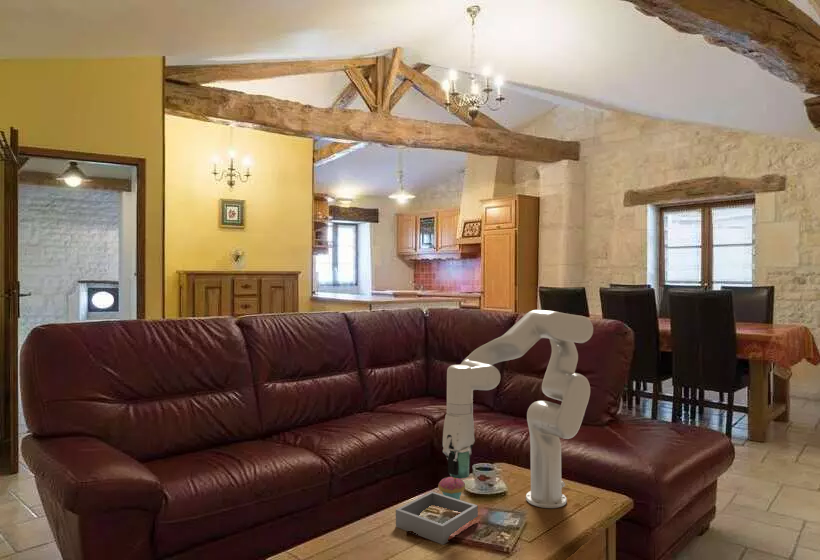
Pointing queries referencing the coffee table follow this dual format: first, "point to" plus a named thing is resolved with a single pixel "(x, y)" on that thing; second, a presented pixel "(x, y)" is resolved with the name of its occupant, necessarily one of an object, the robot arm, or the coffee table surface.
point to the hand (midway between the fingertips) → (459, 470)
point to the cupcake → (452, 487)
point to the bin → (430, 529)
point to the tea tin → (462, 463)
